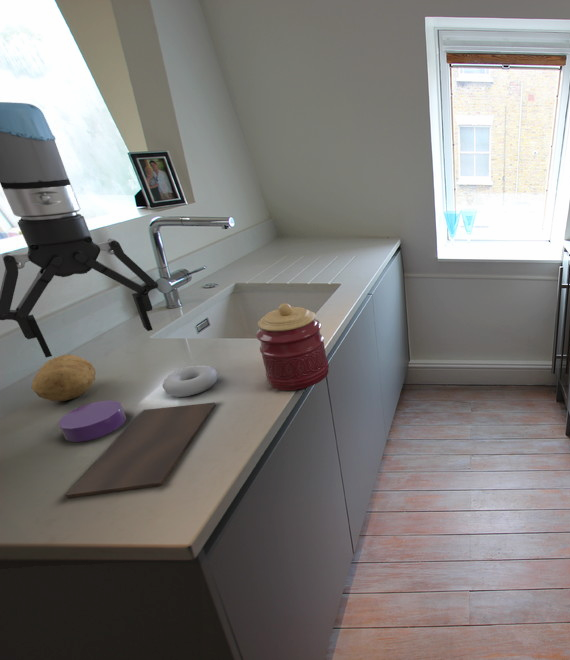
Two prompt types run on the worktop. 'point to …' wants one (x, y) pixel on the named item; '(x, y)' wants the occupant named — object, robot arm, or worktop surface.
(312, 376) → the kitchen canister
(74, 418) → the purple hockey puck
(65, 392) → the potato
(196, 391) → the donut
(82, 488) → the placemat
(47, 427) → the worktop surface
